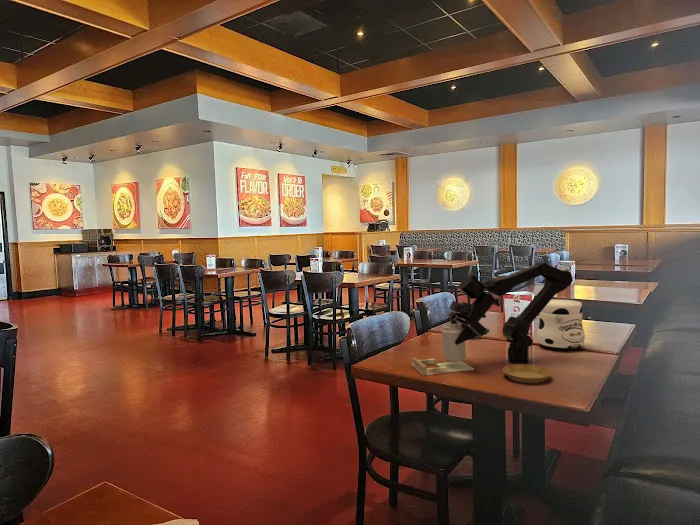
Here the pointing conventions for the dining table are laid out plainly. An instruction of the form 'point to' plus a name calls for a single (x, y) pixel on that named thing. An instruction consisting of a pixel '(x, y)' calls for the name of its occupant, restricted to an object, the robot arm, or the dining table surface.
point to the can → (453, 343)
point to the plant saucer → (527, 373)
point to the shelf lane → (422, 367)
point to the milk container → (561, 325)
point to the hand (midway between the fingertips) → (450, 341)
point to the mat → (455, 366)
